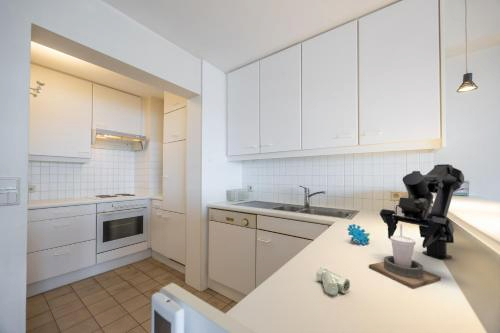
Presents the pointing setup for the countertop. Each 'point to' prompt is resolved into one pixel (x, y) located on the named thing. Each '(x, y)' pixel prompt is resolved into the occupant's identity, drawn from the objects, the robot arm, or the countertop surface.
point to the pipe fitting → (332, 282)
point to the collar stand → (405, 273)
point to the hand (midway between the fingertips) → (405, 242)
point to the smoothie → (402, 249)
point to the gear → (358, 234)
